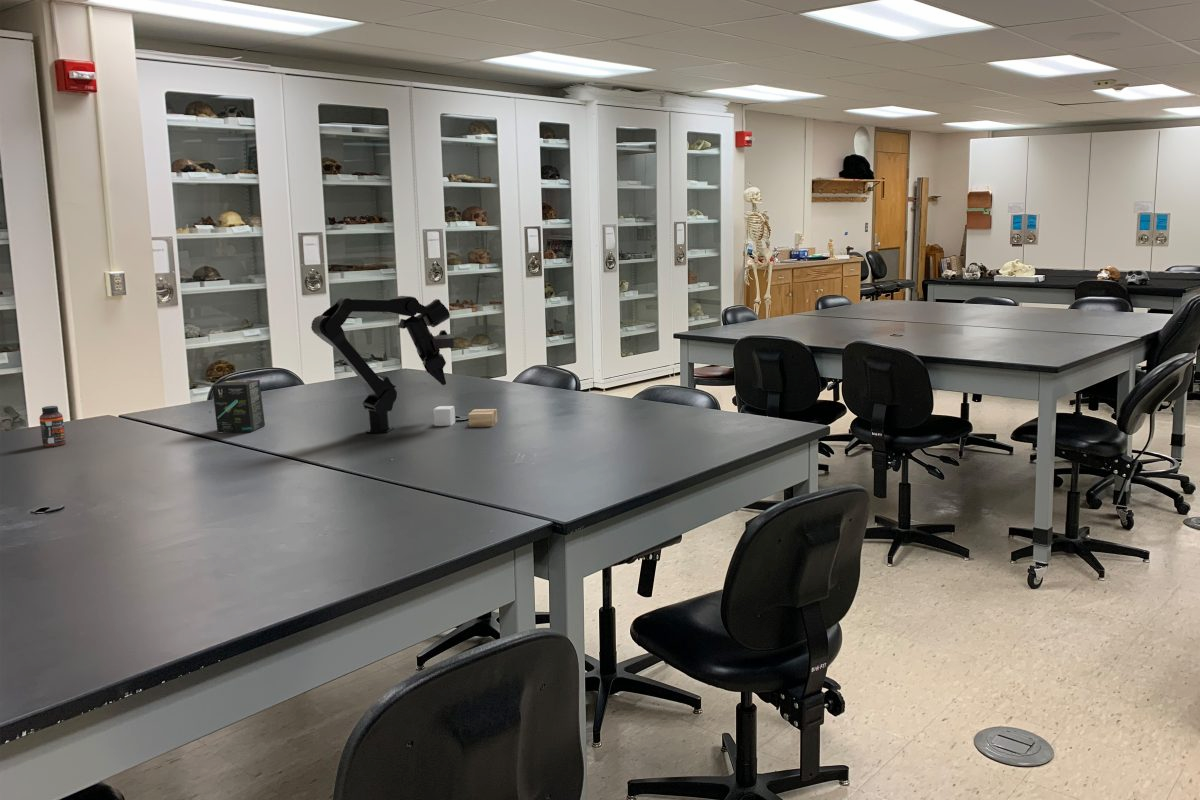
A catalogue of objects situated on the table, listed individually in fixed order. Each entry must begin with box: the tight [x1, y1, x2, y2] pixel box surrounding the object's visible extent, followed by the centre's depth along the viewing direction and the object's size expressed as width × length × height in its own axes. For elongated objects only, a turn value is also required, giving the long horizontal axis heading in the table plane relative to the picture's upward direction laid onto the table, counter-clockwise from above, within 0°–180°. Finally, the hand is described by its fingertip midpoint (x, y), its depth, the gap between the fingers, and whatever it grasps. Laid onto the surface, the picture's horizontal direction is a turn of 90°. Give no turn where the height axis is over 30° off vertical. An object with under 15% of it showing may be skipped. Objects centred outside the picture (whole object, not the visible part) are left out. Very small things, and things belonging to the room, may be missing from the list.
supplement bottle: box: [39, 405, 67, 448], centre depth 280 cm, size 6×6×11 cm
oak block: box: [468, 408, 498, 428], centre depth 286 cm, size 7×7×4 cm
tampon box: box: [212, 379, 266, 433], centre depth 291 cm, size 11×9×15 cm
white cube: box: [432, 405, 456, 427], centre depth 289 cm, size 5×5×5 cm
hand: (442, 380), depth 293 cm, fingers open, 9 cm apart
